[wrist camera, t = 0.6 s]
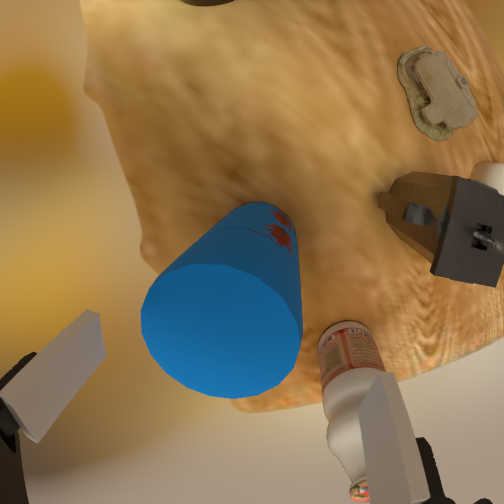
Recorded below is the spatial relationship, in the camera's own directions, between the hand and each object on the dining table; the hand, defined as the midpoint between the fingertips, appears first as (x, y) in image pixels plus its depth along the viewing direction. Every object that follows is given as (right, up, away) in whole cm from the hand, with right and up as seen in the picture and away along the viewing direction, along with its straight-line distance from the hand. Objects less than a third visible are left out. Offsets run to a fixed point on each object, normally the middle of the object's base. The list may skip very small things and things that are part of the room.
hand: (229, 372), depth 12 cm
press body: (+24, +12, +25) cm, 36 cm away
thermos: (+2, +7, +29) cm, 30 cm away
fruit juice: (+16, -10, +33) cm, 38 cm away
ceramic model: (+27, +29, +19) cm, 44 cm away
